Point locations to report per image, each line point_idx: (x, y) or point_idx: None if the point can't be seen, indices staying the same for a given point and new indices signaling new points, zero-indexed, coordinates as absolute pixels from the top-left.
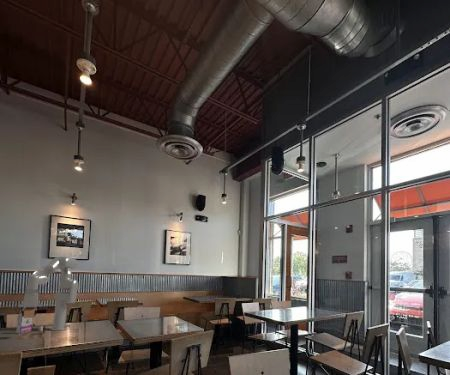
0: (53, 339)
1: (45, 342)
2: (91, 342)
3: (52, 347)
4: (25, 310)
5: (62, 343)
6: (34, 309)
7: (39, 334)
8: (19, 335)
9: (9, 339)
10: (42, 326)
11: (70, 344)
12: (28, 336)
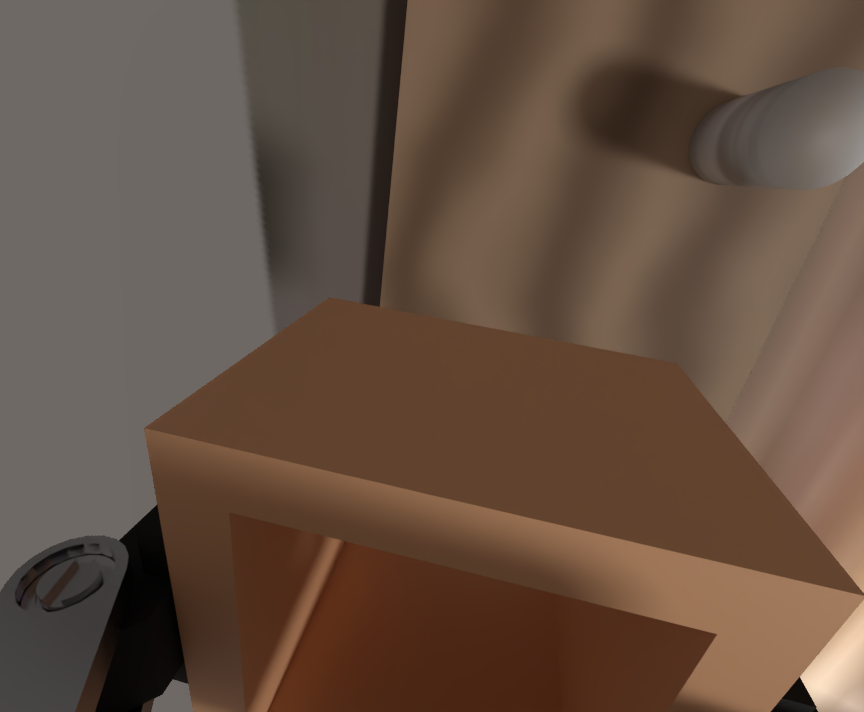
0: (795, 445)
1: None
2: None
3: None
4: (227, 671)
5: None
6: (791, 621)
7: (716, 183)
8: (421, 95)
9: (310, 186)
10: (847, 174)
11: (820, 703)
12: (530, 248)
